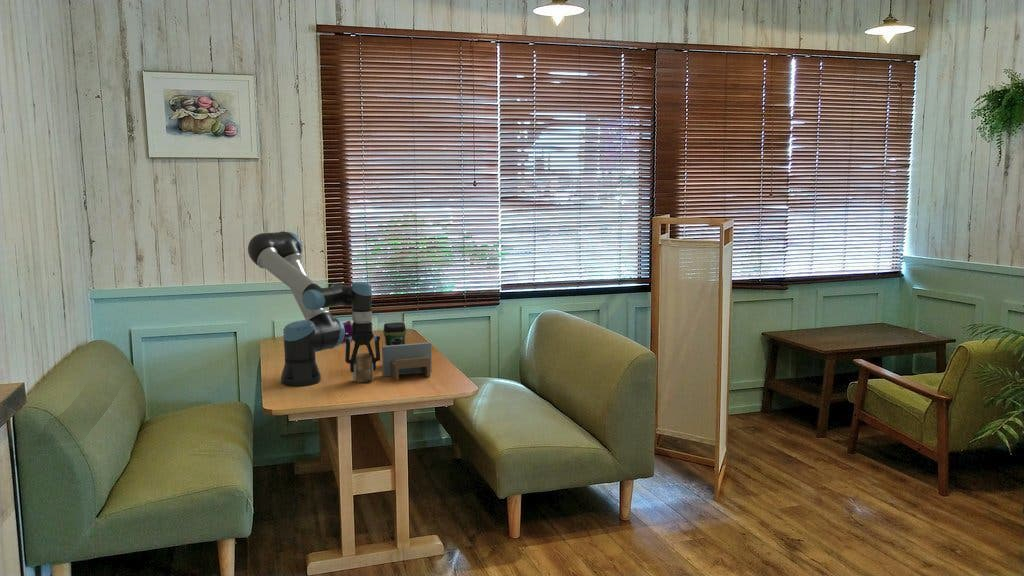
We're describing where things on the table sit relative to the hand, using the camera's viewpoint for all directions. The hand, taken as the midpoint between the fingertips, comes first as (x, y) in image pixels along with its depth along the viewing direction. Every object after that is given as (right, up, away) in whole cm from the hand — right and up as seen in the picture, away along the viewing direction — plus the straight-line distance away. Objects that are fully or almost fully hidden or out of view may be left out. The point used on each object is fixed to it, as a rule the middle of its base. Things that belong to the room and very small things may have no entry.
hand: (363, 379), depth 308 cm
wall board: (+17, 0, +9) cm, 19 cm away
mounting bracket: (-28, +9, +78) cm, 83 cm away
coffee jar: (+9, +3, +27) cm, 28 cm away
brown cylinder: (0, 0, 0) cm, 0 cm away
